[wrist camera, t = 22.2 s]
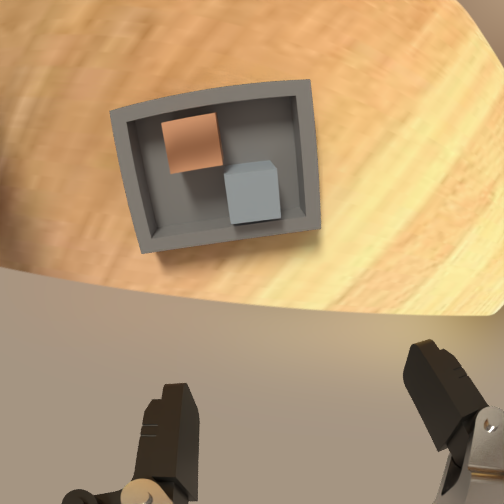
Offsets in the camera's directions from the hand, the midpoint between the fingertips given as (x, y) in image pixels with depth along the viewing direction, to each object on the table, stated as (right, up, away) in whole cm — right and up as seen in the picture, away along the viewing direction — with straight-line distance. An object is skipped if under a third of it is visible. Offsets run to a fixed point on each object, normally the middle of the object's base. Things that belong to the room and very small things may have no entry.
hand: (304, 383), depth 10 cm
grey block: (-2, +12, +24) cm, 27 cm away
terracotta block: (-8, +17, +22) cm, 28 cm away
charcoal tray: (-5, +15, +24) cm, 28 cm away
